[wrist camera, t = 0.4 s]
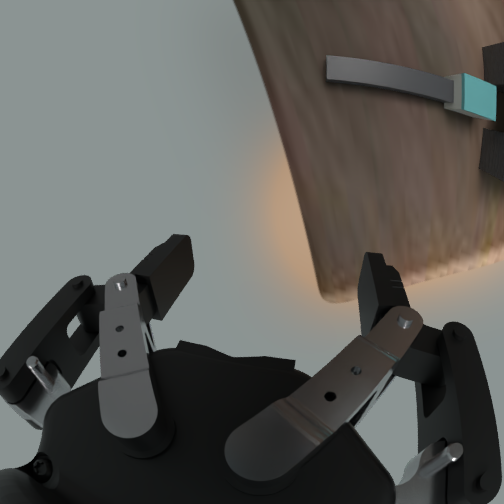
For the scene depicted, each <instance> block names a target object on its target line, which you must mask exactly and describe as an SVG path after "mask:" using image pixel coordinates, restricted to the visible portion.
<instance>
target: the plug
mask: <svg viewBox="0 0 504 504" xmlns="http://www.w3.org/2000/svg"><path fill="white" fill-rule="evenodd" d="M326 82H335V83H345V84H353V85H361V86H368V87H375V88H381V89H386V90H392V91H397V92H402V93H407V94H411V95H416V96H420V97H424V98H428V99H432V100H435V101H439V102H443V103H444V108H445V109H448V110H452V111H455V112H458V113H461V114H464V115H468V116H470V117H474V118H480V119H486V120H492V121H496V86H494V85H492V84H490V83H488V82H485V81H483V80H481V79H478V78H476V77H473V76H471V75H468V74H465V73H462V74H457V75H451V76H446V77H441V76H438V75H434V74H431V73H427V72H423V71H420V70H416V69H411V68H407V67H403V66H398V65H393V64H388V63H383V62H377V61H371V60H365V59H357V58H349V57H340V56H329V55H327V56H326Z"/></svg>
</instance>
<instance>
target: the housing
mask: <svg viewBox="0 0 504 504" xmlns="http://www.w3.org/2000/svg"><path fill="white" fill-rule="evenodd" d="M482 48H483V60H484V79H485V82H488V83H490V84H492V85H494V86H496V90H498V91H500V92H502V93H504V42H502V43H498V44H494V45H490V46H486V47H482ZM479 169H481V170H483V171H485V172H487V173H489V174H490V175H492V176H494V177H496V178H498V179H500V180H501V181H503V182H504V133H502V132H498V131H494V130H490V129H486V128H483V139H482V148H481V157H480V164H479Z"/></svg>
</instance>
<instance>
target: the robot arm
mask: <svg viewBox="0 0 504 504" xmlns="http://www.w3.org/2000/svg"><path fill="white" fill-rule="evenodd" d="M193 272H194V260H193V252H192V245H191V239H190V237H189V236H188V235H179V234H173V235H172V236H171V237H170V238H169V239H168V240H167V241H166V242H165V243H162V244H161V245H159V246H157V247H155V248H154V249H153V250H152V251H151V252H150V253H149V255H147V256H146V257H145V258H144V260H142V261H141V262H140V263H139V264H138V265H137V266H136V267H135V268H134V269H133V270H132V271H131V272H130V273H121V274H117V275H115V276H113V277H111V278H110V279H109V280H108V281H107V282H106V284H105V285H95V286H93V283H92V280H91V278H90V277H89V276H86V275H83V276H77V277H75V278H73V279H71V280H70V281H68V282H67V283H66V285H64V287H62V289H61V290H60V291H59V292H58V293H57V294H56V295H55V296H54V297H53V298H52V299H51V300H50V301H49V302H48V303H47V304H46V305H45V307H44V308H43V309H42V310H41V311H40V312H39V313H38V314H37V315H36V316H35V318H34V319H33V320H32V321H31V322H30V323H29V324H28V326H27V327H26V328H25V329H24V330H23V331H22V333H21V334H20V335H19V336H18V337H17V339H16V340H15V341H14V342H13V343H12V345H11V346H10V348H9V349H8V350H7V351H6V352H5V353H4V355H3V356H2V357H1V359H0V395H1V396H2V397H3V399H4V400H5V402H6V403H7V404H8V405H9V406H10V407H11V408H12V409H13V410H14V411H15V412H16V413H17V414H19V416H21V417H22V418H23V419H25V420H26V421H27V422H28V423H29V424H30V425H32V426H33V427H34V428H35V429H40V430H42V429H43V432H42V438H41V442H40V446H39V449H38V452H37V454H36V456H35V457H34V459H33V460H32V461H31V462H29V463H28V464H26V465H24V466H21V467H18V468H13V469H12V468H9V469H4V470H0V504H487V503H489V502H490V501H491V500H493V499H494V497H495V496H496V495H497V493H498V491H499V489H500V486H501V482H502V472H501V457H500V447H499V439H498V432H497V425H496V419H495V414H494V409H493V404H492V399H491V395H490V390H489V386H488V382H487V379H486V375H485V371H484V368H483V365H482V361H481V358H480V354H479V351H478V348H477V345H476V342H475V339H474V336H473V334H472V332H471V331H470V329H469V328H467V327H466V326H465V325H463V324H461V323H459V322H449V323H447V324H445V325H444V327H443V329H442V330H438V329H435V328H432V327H429V326H426V325H424V324H423V319H422V317H421V316H420V314H419V313H418V312H417V311H415V310H414V309H412V308H410V304H409V301H408V298H407V295H406V292H405V289H404V286H403V283H402V282H401V281H402V280H401V277H400V275H399V272H398V271H397V270H396V269H395V268H394V267H393V266H389V265H386V263H385V260H384V257H383V254H381V253H371V252H366V253H365V255H364V260H363V264H362V269H361V274H360V278H359V283H358V303H359V312H360V322H361V333H362V336H361V335H359V336H357V337H356V338H355V339H354V340H353V341H352V342H351V343H350V344H348V346H346V347H345V348H344V349H343V350H342V351H341V352H340V353H339V354H338V355H337V356H336V357H335V358H333V359H332V360H331V361H330V362H329V363H328V364H327V365H326V366H324V367H323V368H322V369H321V370H320V371H319V372H318V373H317V374H315V375H314V376H313V377H310V376H309V375H307V374H305V373H303V372H301V371H299V370H296V369H294V367H295V360H289V359H282V358H273V357H267V356H262V357H261V356H260V357H231V356H228V355H226V354H224V353H221V352H219V351H216V350H214V349H212V348H210V347H207V346H204V345H200V344H195V343H190V342H186V341H182V340H180V341H179V343H178V345H177V347H176V348H168V349H161V350H156V346H155V342H154V337H153V333H152V329H151V325H150V320H151V319H156V320H163V318H164V317H165V315H166V314H167V312H168V311H169V309H170V308H171V306H172V305H173V303H174V301H175V300H176V299H177V297H178V296H179V294H180V292H181V291H182V290H183V288H184V287H185V286H186V284H187V283H188V281H189V280H190V278H191V277H192V275H193ZM76 315H77V317H78V319H79V321H80V323H81V324H80V326H79V327H78V328H77V329H76V331H75V332H74V333H73V335H72V336H71V337H70V338H69V337H68V335H67V326H68V324H69V323H70V322H71V321H72V319H73V318H74V317H75V316H76ZM99 346H100V364H101V365H100V366H101V377H100V378H98V379H96V380H94V381H92V382H89V383H87V384H85V385H83V386H81V387H79V388H76V389H74V390H72V391H71V388H72V387H73V386H74V384H75V382H76V381H77V379H78V377H79V376H80V375H81V373H82V371H83V370H84V368H85V367H86V365H87V364H88V362H89V361H90V359H91V358H92V356H93V355H94V353H95V352H96V350H97V349H98V347H99ZM396 376H399V377H402V378H405V379H408V380H412V381H415V388H416V400H417V418H418V455H417V456H415V457H414V458H412V459H411V460H410V461H409V462H408V464H407V465H406V467H405V470H404V474H403V478H402V480H401V482H400V483H399V484H398V485H397V486H395V484H394V481H393V479H392V477H391V475H390V473H389V472H388V471H387V470H386V468H385V467H384V466H383V464H382V463H381V462H380V461H379V459H378V458H377V457H376V456H375V454H374V453H373V452H372V451H371V449H370V448H369V447H368V446H367V444H366V443H365V441H364V440H363V439H362V438H361V436H360V435H359V434H358V432H357V431H356V430H355V427H356V426H357V425H358V424H359V423H360V421H361V420H362V419H363V418H364V417H365V415H366V414H367V413H368V411H369V410H370V409H371V408H372V406H373V405H374V404H375V403H376V401H377V400H378V399H379V398H380V397H381V395H382V394H383V393H384V392H385V390H386V389H387V388H388V386H389V385H390V384H391V382H392V381H393V380H394V378H395V377H396Z"/></svg>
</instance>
